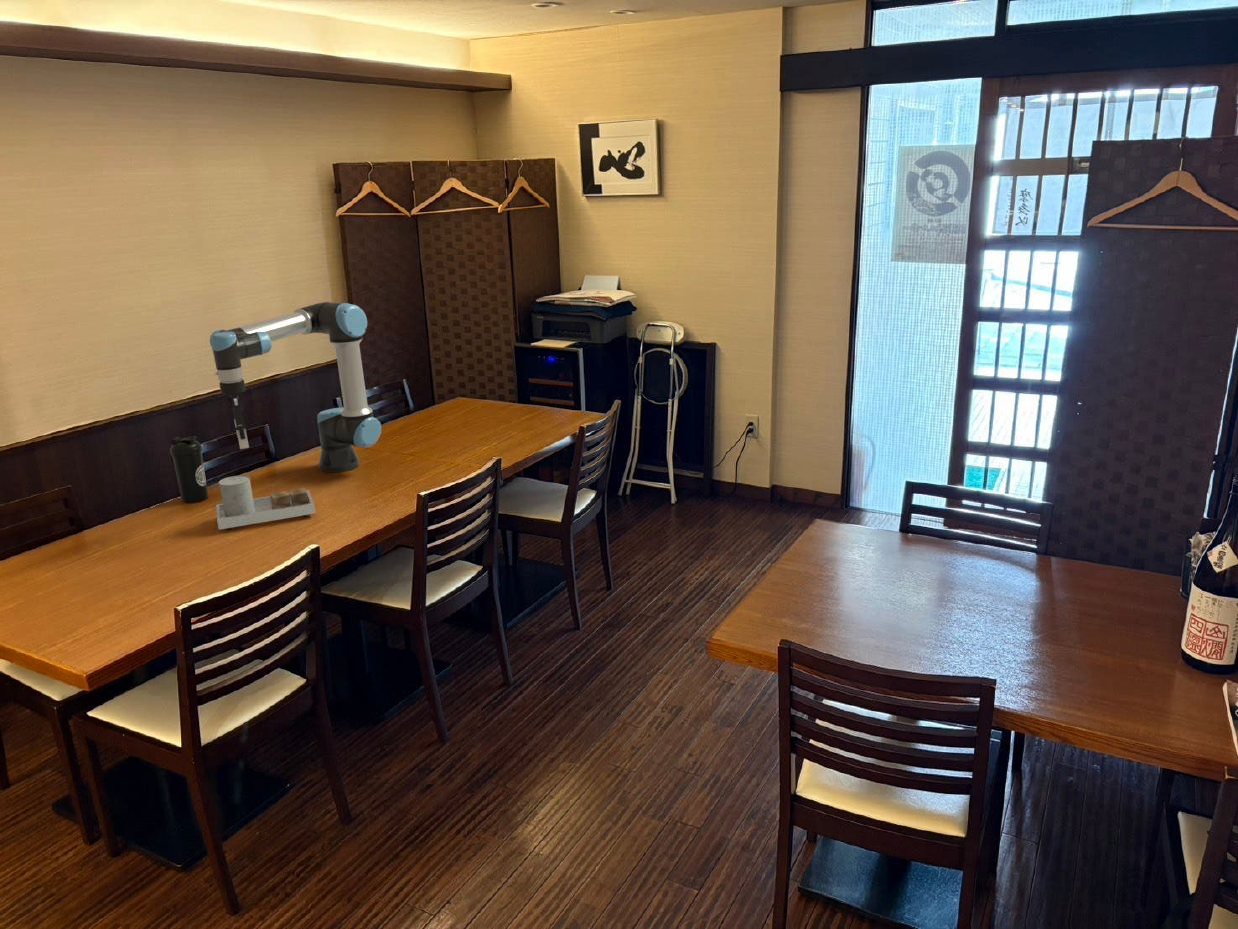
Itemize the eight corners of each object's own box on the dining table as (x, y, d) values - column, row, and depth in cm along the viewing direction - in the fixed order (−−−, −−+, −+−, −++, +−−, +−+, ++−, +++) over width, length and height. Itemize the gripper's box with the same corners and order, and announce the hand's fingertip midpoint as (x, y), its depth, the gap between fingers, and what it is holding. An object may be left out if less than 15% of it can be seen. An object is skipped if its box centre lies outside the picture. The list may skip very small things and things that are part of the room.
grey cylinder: (260, 510, 303) (255, 475, 299) (247, 520, 294) (241, 485, 290) (233, 509, 304) (227, 475, 300) (219, 520, 295) (212, 485, 291)
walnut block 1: (287, 504, 307) (285, 491, 306) (291, 508, 303) (289, 495, 302) (272, 508, 305) (269, 494, 303) (276, 512, 301) (273, 498, 299)
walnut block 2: (307, 501, 309) (305, 488, 308) (308, 506, 305) (306, 492, 303) (291, 504, 307) (289, 490, 306) (293, 509, 303) (291, 495, 301)
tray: (310, 503, 315) (308, 489, 313) (316, 517, 302) (314, 503, 300) (218, 518, 303) (215, 504, 302) (219, 533, 290) (217, 519, 289)
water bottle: (203, 504, 317) (191, 441, 310) (174, 504, 317) (162, 442, 310) (215, 494, 327) (204, 433, 319) (188, 494, 327) (176, 434, 320)
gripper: (217, 374, 301) (229, 434, 308) (220, 390, 280) (233, 454, 287) (241, 371, 304) (252, 430, 311) (246, 387, 282) (258, 450, 290)
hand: (243, 442), depth 299 cm, fingers open, 13 cm apart
